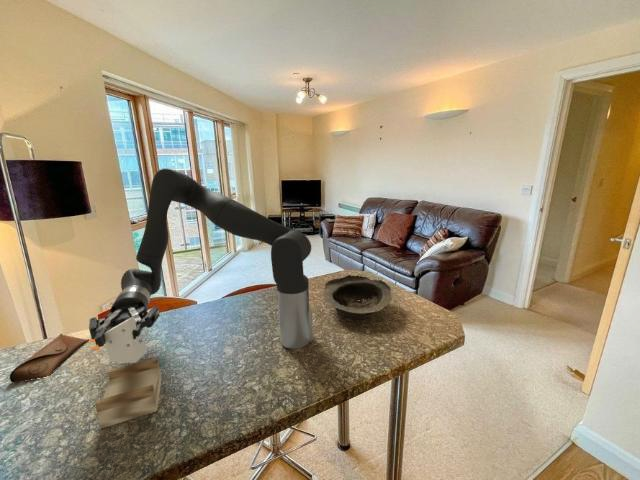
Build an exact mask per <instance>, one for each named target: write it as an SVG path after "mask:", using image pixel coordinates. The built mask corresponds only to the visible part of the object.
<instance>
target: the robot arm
mask: <svg viewBox="0 0 640 480" xmlns="http://www.w3.org/2000/svg"><path fill="white" fill-rule="evenodd" d="M151 182H152V183H151V187H150V191H149V201H148V205H147V215H146V223H145V227H144V232H143V235H142V239H141V240H140V244H139V248H138V251H137V254H136V258H135V259H136V261H137V262H138V263H140V264H141V265H144V266H146V267H148V268H149V269H150V271H148V270H145V269H144V270H143V269H138V268H131V269H128V270H126V271H125V272H124V273H123V274H122V277H121V281H120V287H121V291H120V293H119V294H118V295H117V296H116V299H115V300H114V302H113V304H112V306H111V307H110V310H109V313H108V314H106V315H105V317H103V318H100V319H99V318H97V317H96V316H95V317H91V318H89V326H88V330H89V331H88V332H89V335H90V338H91V339H95V342H94V343H95V345H96V346H99V347H100V348H101V347H105V346H104V345H106V343H105V342H106V340H105V336H104V334H105V333H106V332H107V331H109V330H110V329H112V328H114V327H115V326H117V325H119V324H121V323H122V322H124V321H126V320H128V319H129V318H131V317H133V316H134V318H135V323H136V330H135V329H134V330H133V331H132V334H133V339H136V337H137V336H138V337H139V336H140V335H141V333H142V331H143V330H144V328H147V329H149V328H151V327H153V326H154V324H155V323H156V321H157V320H158V319H159V317H160V310H159V306H158V305H155V306H152V308H149V306H150V304H151V303H150V302H151V296H152V295H155V294H157V293H158V292H159V290H160V288H161V286H162V264H163V259H164V257H165V254H166V251H167V247H168V245H169V244H168V243H169V227H168V212H169V207H170V206H171V204H172V202H175V203H180V204H183V205H185V206H189V207H191V208H193V209H195V210H197V211H199V212H201V213H202V214H203V215H204V216H205V217H206V218H207V219H208V220H209V221H210V223H212V224H214V225H215V226H217V227H218V228H220V229H222V230H224V231H225V232H227V233H230V234H231V235H234V236H237V237H240V238H244V239H249V240H253V241H254V240H255V241H259V242H262V243H265V244H267V245H269V246H271V249H270V259H271V262H270V263H271V269H272V277H273V281H274V283H275V285H276V293H277V294H276V296H277V311H278V326H279V341H280V344H281V346H283V347H284V348H287V349H289V350H295V349H301V348H305V347H306V346H307V345H308V344H310V343H311V342H313V341H314V334H313V333H314V332H313V331H314V330H313V312H312V311H311V310H310V291H309V289H310V288H309V287H310V286H309V278H308V276H306V275H305V274H304V264H303V263H304V261H305V260H306V259H307V258H308V257H309V256H310V254H311V252H312V244H311V241H310V240H309V238H308V237H307V236H306V235H305V234H304V233H303V232H301V231H299V230H297V229H293V228H290V227H288V226H286V225H283V224H281V223H278V222H276V221H274V220H272V219H271V218H268V217H266V216H265V215H263V214H261V213H259V212H258V211H255V210H254V209H251V208H249V207H248V206H246V205H244V204H243V203H240V202H238V201H236V200H235V199H233V198H231V197H228V196H226V195H223V194H221V193H218V192H215V191H212V190H210V189H209V188H206V186H204V185H202V184H200V182H197V181H196V180H195V179H193V177H191V176H189V175H188V174H185V173H182V172H180V171H178V170H176V169H172V168H169V167H168V168H162V169H159V170H158V171H156V172H155V174H154V176H153V179H152V181H151ZM148 308H149V309H148ZM91 339H90V340H91Z"/></svg>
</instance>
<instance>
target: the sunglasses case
mask: <svg viewBox="0 0 640 480" xmlns="http://www.w3.org/2000/svg"><path fill="white" fill-rule="evenodd" d="M88 342H90V339H84V338H80V337H75V336H70V335H66V334H63V333H60V334H59V335H58V336H57V337H56V338H54V339H53V340H52V341H50V342H49V343H47V344H46V345H45V346H43V347H42V348H41V349H39V350H38V351H36V352H35V353H34V354H32V356H30V357H29V358H28V359H26V360H25V361H24V362H22V363H20V364H19V365H17V366H16V367H15V368H14V369H13V370H12V371H11V373H10V375H9V380H10V382H12V383H13V382H16V383H21V382H20V381H23V382H26V381H25V380H30V381H32V380H31V379H37V378H43V377H47V376H50V375H51V374H52V375H53V374H54V372H55V371H56V370H57V369H58V368H59V367H60V366H61V365H62V364H64V362H66V361H67V360H68V359H69V358H70V357H71V356H72V355H73V354H75V353H76V352H77V351H78V350H79V349H80V348H81V347H82V346H83V345H85V344H86V343H88ZM57 367H58V368H57ZM56 368H57V369H56ZM55 369H56V370H55ZM54 370H55V371H54ZM53 371H54V372H53ZM52 375H51V376H52ZM51 376H50V377H51ZM43 379H44V378H43ZM37 380H38V379H37Z"/></svg>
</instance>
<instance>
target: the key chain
mask: <svg viewBox="0 0 640 480" xmlns="http://www.w3.org/2000/svg"><path fill="white" fill-rule="evenodd" d="M89 342H90V343H91V342H92V343H93V342H94V343H95V339H89ZM105 344H106V342H105ZM100 348H101V347H99V346H98V345H96V346H94V347H92V348H91V349H90V350H89V352H86V353H85V354H84V355H83V357H87V356H89V355H90V354H91V353H93V352H94V351H97V350H99V349H100Z"/></svg>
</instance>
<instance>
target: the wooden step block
mask: <svg viewBox="0 0 640 480" xmlns="http://www.w3.org/2000/svg"><path fill="white" fill-rule="evenodd" d="M161 373H162V371H161V368H160V363H159V357H155V358H151V359H147V360H143V361H138V362H136V363H130V364H126V365H124V366H120V367H115V368H111V369H109V370H108V371H107V374H108V379H109V381H108V384H107V386H106V389H105V391H104V394H103V397H102V398H100V399H97V400H96V401H95V404H94V407H95V410H96V412H97V413H96V414H97V417H98V421H99V425H100V429H105V428H107V427H110V426H114V425H117V424H120V423H122V422H123V423H125V422H126V421H129V420H133V419H137V418H139V417H142V416H146V415H148V414H152V413H156V412H157V411H158V407H159V401H160V394H161V385H162V374H161Z"/></svg>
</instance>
